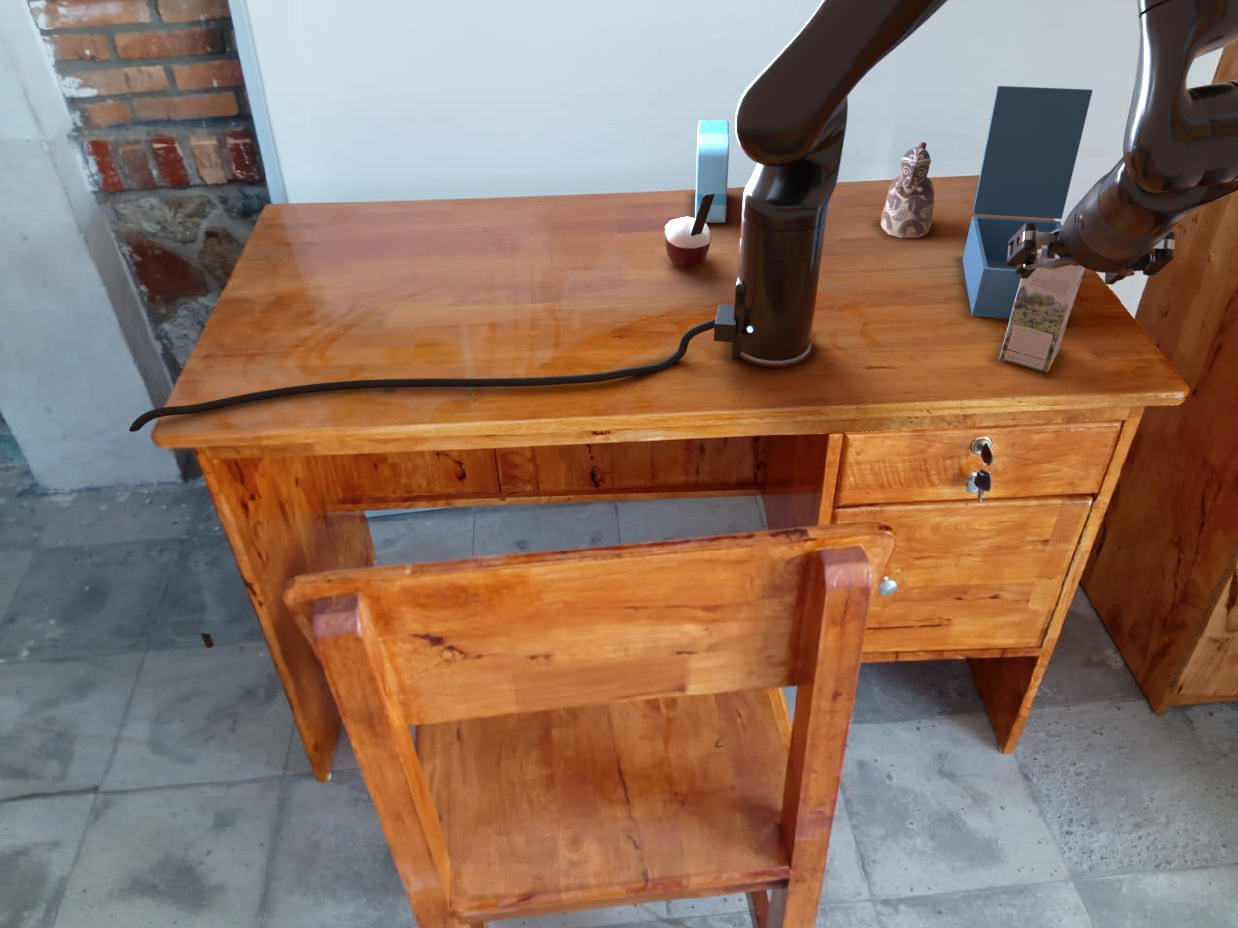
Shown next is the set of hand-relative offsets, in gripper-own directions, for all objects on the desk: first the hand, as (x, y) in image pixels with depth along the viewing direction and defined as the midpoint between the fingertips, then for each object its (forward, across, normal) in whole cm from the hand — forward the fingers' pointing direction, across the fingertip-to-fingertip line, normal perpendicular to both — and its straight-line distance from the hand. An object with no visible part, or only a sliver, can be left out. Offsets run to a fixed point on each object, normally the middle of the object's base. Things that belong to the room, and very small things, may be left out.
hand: (1065, 272), depth 101 cm
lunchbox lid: (+20, 0, -22) cm, 30 cm away
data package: (+38, +42, -19) cm, 60 cm away
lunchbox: (+24, 0, -5) cm, 25 cm away
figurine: (+37, +13, -17) cm, 42 cm away
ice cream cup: (+25, +43, -6) cm, 50 cm away
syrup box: (+13, 0, +6) cm, 15 cm away
